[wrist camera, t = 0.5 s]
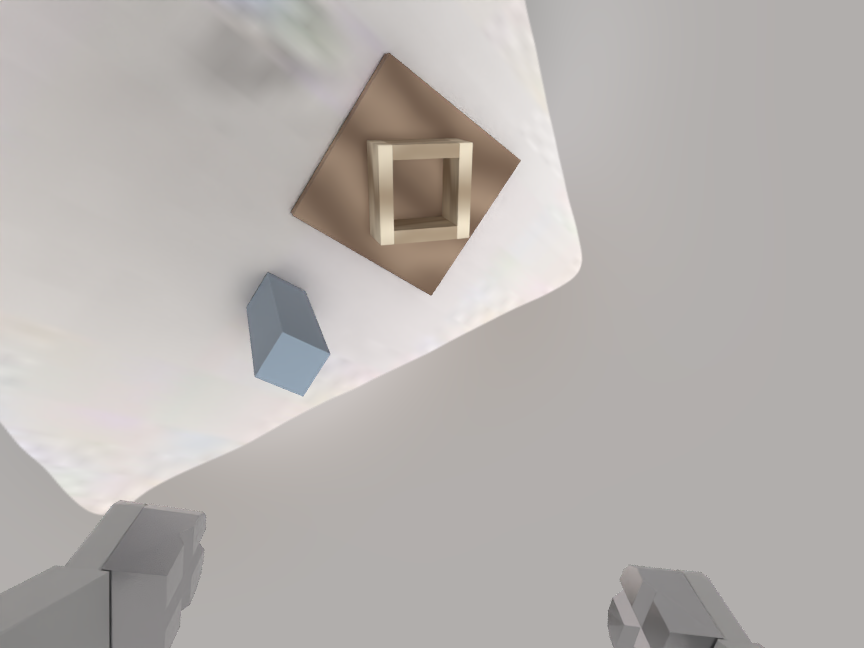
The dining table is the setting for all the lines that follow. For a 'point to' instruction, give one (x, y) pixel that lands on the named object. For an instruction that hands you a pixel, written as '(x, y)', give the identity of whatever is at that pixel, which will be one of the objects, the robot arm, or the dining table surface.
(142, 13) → the dining table surface
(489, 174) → the socket board
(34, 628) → the robot arm
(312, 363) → the slate peg
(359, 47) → the dining table surface
